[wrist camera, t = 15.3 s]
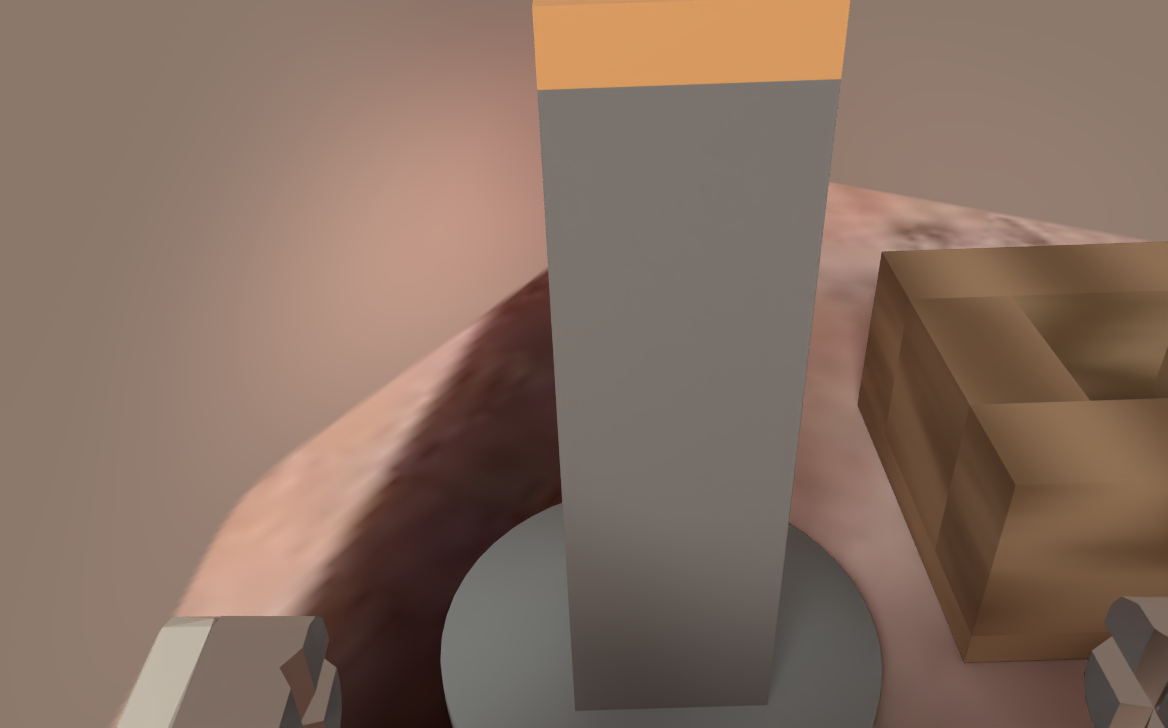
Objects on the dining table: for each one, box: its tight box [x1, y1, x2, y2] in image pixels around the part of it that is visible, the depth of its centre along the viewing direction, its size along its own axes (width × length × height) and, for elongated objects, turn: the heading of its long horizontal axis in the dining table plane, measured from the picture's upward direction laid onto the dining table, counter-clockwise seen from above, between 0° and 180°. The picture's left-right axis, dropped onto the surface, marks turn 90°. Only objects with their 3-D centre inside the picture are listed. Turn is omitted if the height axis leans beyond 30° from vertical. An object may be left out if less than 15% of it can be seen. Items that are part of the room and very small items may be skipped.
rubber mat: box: [441, 503, 882, 728], centre depth 25 cm, size 11×11×1 cm
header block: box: [858, 242, 1168, 662], centre depth 27 cm, size 11×11×6 cm
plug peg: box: [532, 0, 850, 711], centre depth 20 cm, size 4×4×16 cm
